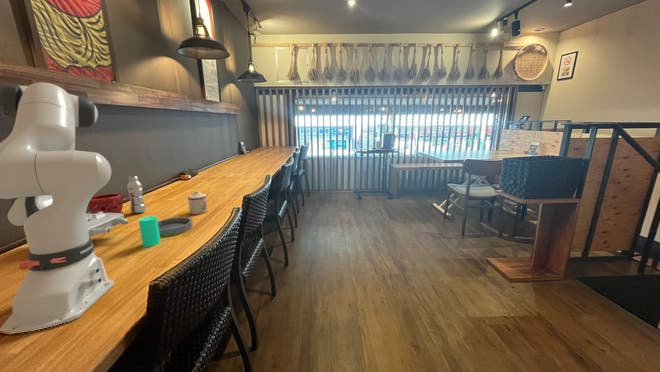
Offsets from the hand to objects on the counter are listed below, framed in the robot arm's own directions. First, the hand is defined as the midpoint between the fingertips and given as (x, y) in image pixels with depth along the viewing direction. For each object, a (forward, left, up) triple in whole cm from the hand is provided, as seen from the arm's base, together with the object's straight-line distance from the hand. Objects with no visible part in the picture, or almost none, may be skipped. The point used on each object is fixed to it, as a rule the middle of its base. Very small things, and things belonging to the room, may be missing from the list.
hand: (118, 226), depth 101 cm
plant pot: (+37, +17, -8) cm, 41 cm away
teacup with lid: (+35, -24, -8) cm, 43 cm away
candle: (-4, -11, -8) cm, 14 cm away
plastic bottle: (+43, +6, -7) cm, 44 cm away
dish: (+10, -16, -7) cm, 20 cm away
